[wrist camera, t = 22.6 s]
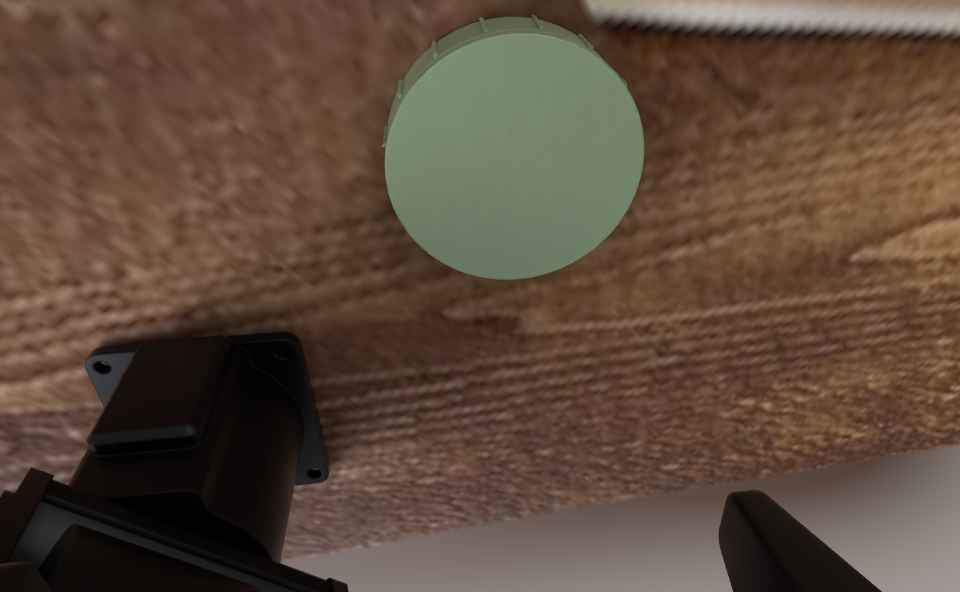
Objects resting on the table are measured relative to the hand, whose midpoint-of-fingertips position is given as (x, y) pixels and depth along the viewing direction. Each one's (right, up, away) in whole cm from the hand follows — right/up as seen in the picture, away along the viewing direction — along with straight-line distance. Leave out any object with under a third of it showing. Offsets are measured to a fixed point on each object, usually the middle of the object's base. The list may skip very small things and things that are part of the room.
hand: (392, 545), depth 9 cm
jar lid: (+2, +7, +8) cm, 11 cm away
